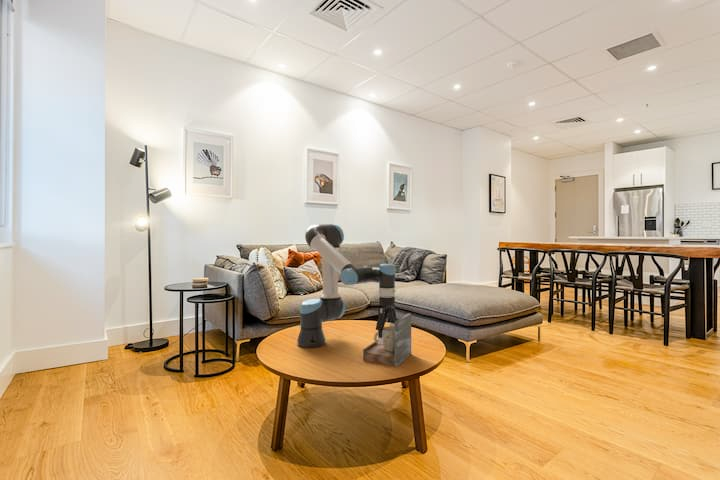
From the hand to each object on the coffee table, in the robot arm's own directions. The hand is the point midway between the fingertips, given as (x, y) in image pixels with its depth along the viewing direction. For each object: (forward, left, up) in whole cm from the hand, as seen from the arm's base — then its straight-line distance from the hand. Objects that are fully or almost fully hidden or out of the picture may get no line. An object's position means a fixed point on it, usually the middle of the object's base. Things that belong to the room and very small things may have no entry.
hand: (386, 340), depth 171 cm
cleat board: (+1, 0, -8) cm, 8 cm away
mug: (0, -1, -4) cm, 4 cm away
